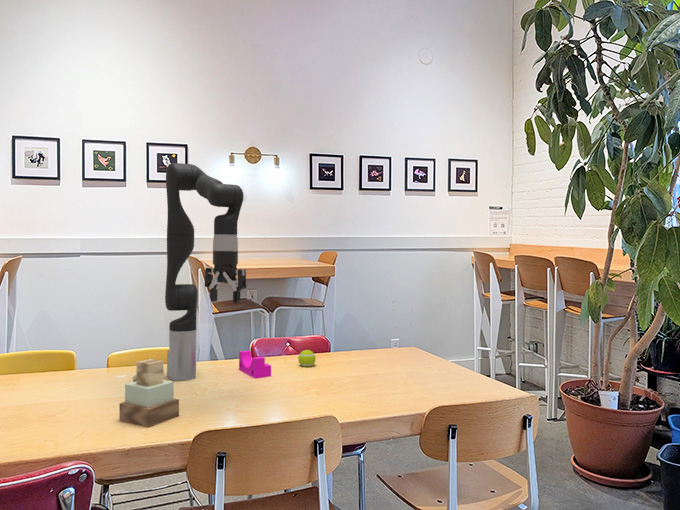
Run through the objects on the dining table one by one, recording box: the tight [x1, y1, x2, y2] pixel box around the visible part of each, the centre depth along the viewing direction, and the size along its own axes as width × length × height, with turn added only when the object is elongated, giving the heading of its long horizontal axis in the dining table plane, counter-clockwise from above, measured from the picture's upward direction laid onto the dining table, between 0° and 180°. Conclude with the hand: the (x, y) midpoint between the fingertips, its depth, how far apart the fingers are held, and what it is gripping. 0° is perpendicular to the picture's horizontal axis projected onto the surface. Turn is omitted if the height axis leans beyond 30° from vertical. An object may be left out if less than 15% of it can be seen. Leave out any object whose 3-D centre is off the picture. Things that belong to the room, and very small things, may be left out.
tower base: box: [118, 398, 180, 428], centre depth 158 cm, size 11×11×5 cm
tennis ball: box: [297, 349, 316, 368], centre depth 223 cm, size 7×7×7 cm
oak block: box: [135, 358, 164, 386], centre depth 158 cm, size 5×5×6 cm
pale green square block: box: [124, 379, 175, 408], centre depth 159 cm, size 9×9×5 cm
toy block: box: [238, 350, 272, 380], centre depth 211 cm, size 15×6×8 cm, turn 31°
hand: (225, 302), depth 176 cm, fingers open, 8 cm apart
